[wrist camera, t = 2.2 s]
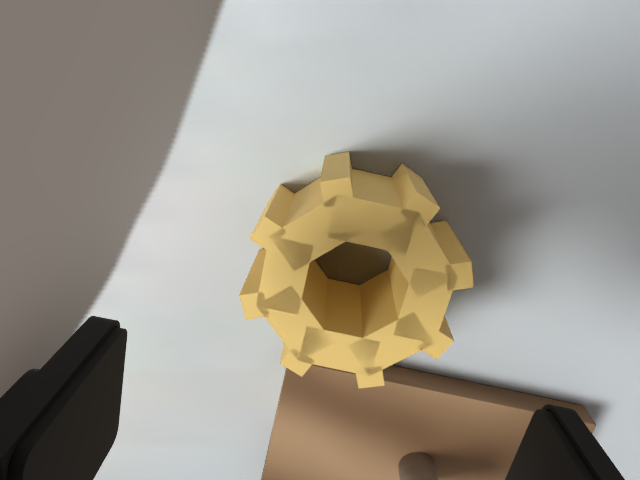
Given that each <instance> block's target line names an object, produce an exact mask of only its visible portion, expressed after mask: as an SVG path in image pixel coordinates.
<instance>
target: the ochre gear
mask: <svg viewBox="0 0 640 480" xmlns="http://www.w3.org/2000/svg"><path fill="white" fill-rule="evenodd" d="M439 210H440V207H439V206H438V204H437V202H436V201H435V199H434V197H433V196H432V194H431V193H430V191H429V189H428V188H427V186H426V184H425V183H424V181H423V179H422V178H421V177H420V176H419V175H417V174H416V173H415V172H413V171H412V170H410V169H409V168H408V167H406V166H405V165H403V164H401V165H400V166H399V168H398V169H397V170H396V172H395V173H394V174H393V176H392V177H388V176H383V175H379V174H374V173H370V172H365V171H361V170H356V169H352V167H351V161H350V155H349V152H344V153H338V154H332V155H327V156H325V158H324V163H323V168H322V173H321V177H320V178H319V179H317V180H315V181H314V182H312V183H310V184H309V185H307V186H306V187H304V188H302V189H301V190H299V191H298V192H296V193H293V192H292V191H290V190H289V189H287V188H286V187H284V186H283V185H281V184H280V186H279V187H278V188H277V190H276V191H275V193H274V194H273V196H272V197H271V199H270V200H269V202H268V203H267V205H266V207H265V209H264V211H263V213H262V215H261V217H260V219H259V221H258V223H257V225H256V227H255V228H254V230H253V232H252V234H251V236H250V238H249V239H250V240H251V241H253V242H255V243H256V244H258V245H259V246H261V247H262V248H264V249H260V250H259V251H258V254H257V256H256V258H255V261H254V263H253V265H252V267H251V270H250V272H249V274H248V277H247V279H246V281H245V283H244V286H243V288H242V290H241V293H240V295H239V296H240V300H241V304H242V307H243V311H244V315H245V319H253V318H260V317H265V318H266V319H267V321H268V322H269V323H270V325H271V326H272V327H273V329H274V330H275V331H276V333H277V334H278V335H279V337H280V338H281V339H282V340H283V342H284V347H283V352H282V356H281V361H280V364H281V365H283V366H285V367H286V368H288V369H290V370H291V371H293V372H295V373H296V374H298V375H300V376H301V377H302V376H303V375H304V374H305V372H306V371H307V370H308V369H309V368H310V366H311V365H312V364H314V365H319V366H324V367H328V368H333V369H338V370H343V371H347V372H352V373H356V377H357V383H358V388H359V389H360V388H368V387H376V386H385V385H384V376H383V369H385V368H387V367H389V366H391V365H393V364H395V363H397V362H399V361H401V360H403V359H405V358H407V357H409V356H411V355H413V354H415V353H417V352H419V351H421V350H422V351H424V352H425V353H427V354H428V355H430V356H431V357H433V358H435V359H436V360H437V359H438V358H439V357H440V356H441V355H442V354H443V353H444V351H445V350H446V349H447V348H448V347H449V346H450V345H451V344H452V343H453V342H454V339H453V336H452V334H451V331H450V329H449V326H448V323H447V321H446V318H445V312H446V309H447V306H448V304H449V301H450V298H451V295H452V292H453V290H459V289H467V288H474V286H473V274H472V262H471V260H470V258H469V257H468V255H467V253H466V252H465V250H464V248H463V247H462V245H461V243H460V242H459V240H458V238H457V237H456V235H455V234H454V232H453V230H452V229H451V227H450V225H449V224H448V222H447V221H440V222H434V223H429V222H430V221H431V219H432V218H433V217H434V216H435V215H436V213H437V212H438V211H439ZM344 242H351V243H356V244H360V245H365V246H369V247H374V248H379V249H383V250H388V252H389V253H390V255H391V256H392V257H391V261H390V264H389V268H388V270H386V271H384V272H383V273H381V274H379V275H377V276H375V277H373V278H372V279H370V280H368V281H366V282H364V283H363V284H361V285H356V284H352V283H347V282H342V281H338V280H333V279H328V278H327V277H326V275H325V274H324V272H323V271H322V269H321V268H320V267H319V265H318V264H317V262H316V261H315V259H316V258H318V257H320V256H321V255H323V254H325V253H327V252H328V251H330V250H332V249H334V248H335V247H337V246H339V245H340V244H342V243H344Z"/></svg>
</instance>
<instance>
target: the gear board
mask: <svg viewBox="0 0 640 480" xmlns="http://www.w3.org/2000/svg"><path fill="white" fill-rule="evenodd" d="M383 376H384V385H385V386H376V387H368V388H360V389H359V388H358V383H357V377H356V373H352V372H347V371H343V370H338V369H333V368H328V367H324V366H319V365H314V364H312V365H311V366H310V368H309V369H308V370H307V371H306V372H305V374H304V375H303V376H302V377H301V376H300V375H298V374H296V373H295V372H293V371H291V370H290V369H288V368H286V372H285V376H284V381H283V385H282V389H281V394H280V398H279V403H278V407H277V412H276V416H275V420H274V425H273V429H272V434H271V438H270V443H269V447H268V452H267V456H266V460H265V465H264V469H263V474H262V478H261V480H505V478H506V476H507V473H508V471H509V469H510V467H511V464H512V462H513V460H514V457H515V455H516V453H517V450H518V448H519V446H520V444H521V441H522V439H523V437H524V434H525V432H526V430H527V427H528V425H529V423H530V421H531V418H532V416H533V414H534V412H535V411H536V410H537V409H542V407H543V406H545V405H547V404H550V405H555V406H560V407H565V408H571V409H573V410H575V411H576V412H577V414H578V415H579V416H580V418H581V419H582V421H583V422H584V423H585V425H586V426H587V428H588V429H589V430H590V432H591V433H592V431H593V430H594V428H595V426H596V424H595V423H594V421H593V420H592V418H591V417H590V415H589V414H588V412H587V411H586V409H585V408H584V406H582V405H577V404H573V403H568V402H563V401H558V400H554V399H549V398H544V397H539V396H535V395H530V394H525V393H520V392H516V391H511V390H506V389H501V388H497V387H492V386H487V385H482V384H478V383H473V382H468V381H463V380H459V379H454V378H449V377H444V376H440V375H435V374H430V373H425V372H421V371H416V370H411V369H406V368H402V367H397V366H392V365H391V366H389V367H387V368H385V369H383Z"/></svg>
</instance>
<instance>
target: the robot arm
mask: <svg viewBox="0 0 640 480" xmlns="http://www.w3.org/2000/svg"><path fill="white" fill-rule="evenodd" d="M126 342H127V330H126V329H122V328H120V323H119V321H116V320H111V319H106V318H101V317H96V316H91V317H90V318H88V319H87V321H86V322H85V323H84V324H83V325H82V326H81V327H80V328H79V329H78V330H77V331H76V332H75V333H74V334H73V335H72V336H71V337H70V338H69V340H68V341H67V342H66V343H65V344H64V345H63V346H62V347H61V348H60V349H59V350H58V351H57V352H56V353H55V354H54V355H53V356H52V358H51V359H50V360H49V361H48V362H47V363H46V364H45V365H44V366H43V367H42V368H41V369H40V370H39V369H32V370H29V371H28V372H26V373H25V374H24V375H23V376H22V377H21V378H20V379H19V380H18V381H17V382H16V383H15V384H14V385H13V386H12V387H11V388H10V389H9V390H8V391H7V392H6V393H5V394H4V395H3V396H2V397H1V398H0V480H93V479H94V477H95V475H96V473H97V472H98V470H99V468H100V466H101V465H102V463H103V461H104V459H105V458H106V456H107V454H108V452H109V451H110V449H111V447H112V445H113V443H114V441H115V438H116V435H117V431H118V425H119V415H120V404H121V394H122V384H123V373H124V363H125V352H126ZM505 480H625V479H624V478H623V477H622V475H621V474H620V472H619V471H618V470H617V468H616V467H615V465H614V464H613V463H612V461H611V460H610V458H609V457H608V456H607V454H606V453H605V451H604V450H603V449H602V447H601V446H600V444H599V443H598V442H597V440H596V439H595V437H594V436H593V435H592V433H591V432H590V430H589V429H588V428H587V426H586V425H585V423H584V422H583V421H582V419H581V418H580V416H579V415H578V414H577V412H576V411H575V410H573V409H571V408H565V407H560V406H555V405H550V404H547V405H545V406H543V407H542V409H537V410H536V411H535V412H534V414H533V416H532V418H531V421H530V423H529V425H528V427H527V430H526V432H525V434H524V437H523V439H522V441H521V444H520V446H519V448H518V450H517V453H516V455H515V457H514V460H513V462H512V464H511V467H510V469H509V471H508V473H507V476H506V478H505Z"/></svg>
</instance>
